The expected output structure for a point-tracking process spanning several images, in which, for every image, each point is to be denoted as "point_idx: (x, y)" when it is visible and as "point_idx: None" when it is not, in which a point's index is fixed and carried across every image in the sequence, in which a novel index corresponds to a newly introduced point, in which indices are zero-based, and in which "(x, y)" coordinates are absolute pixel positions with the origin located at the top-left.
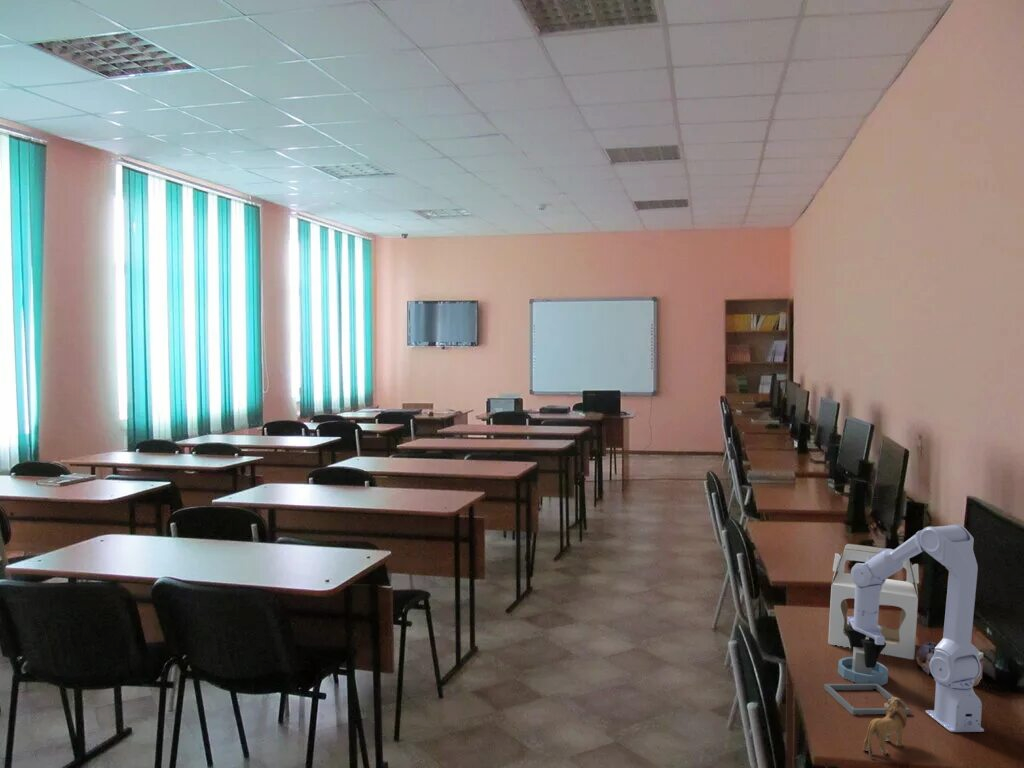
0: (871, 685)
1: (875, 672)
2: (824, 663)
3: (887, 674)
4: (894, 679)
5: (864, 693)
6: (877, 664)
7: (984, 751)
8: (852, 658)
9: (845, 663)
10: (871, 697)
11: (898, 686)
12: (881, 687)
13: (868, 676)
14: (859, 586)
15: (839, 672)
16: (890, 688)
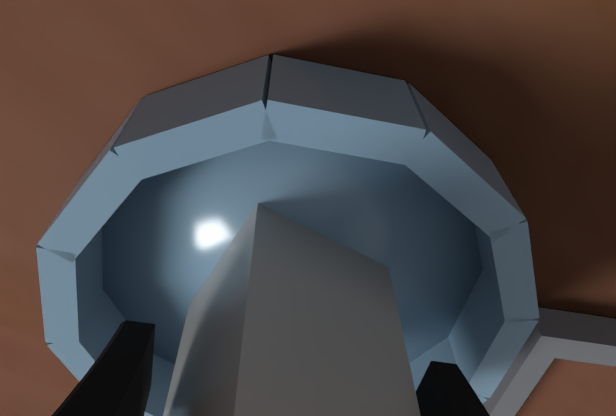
0: (535, 379)
1: (294, 154)
2: (18, 371)
3: (525, 224)
4: (455, 18)
5: (538, 409)
6: (252, 141)
7: None
8: (77, 308)
9: None
10: (602, 406)
11: (596, 111)
12: (609, 351)
13: (482, 398)
14: None
15: None
16: (582, 212)
